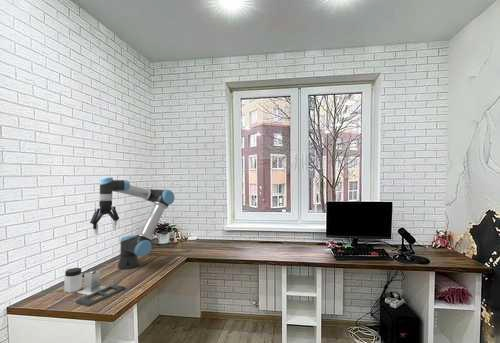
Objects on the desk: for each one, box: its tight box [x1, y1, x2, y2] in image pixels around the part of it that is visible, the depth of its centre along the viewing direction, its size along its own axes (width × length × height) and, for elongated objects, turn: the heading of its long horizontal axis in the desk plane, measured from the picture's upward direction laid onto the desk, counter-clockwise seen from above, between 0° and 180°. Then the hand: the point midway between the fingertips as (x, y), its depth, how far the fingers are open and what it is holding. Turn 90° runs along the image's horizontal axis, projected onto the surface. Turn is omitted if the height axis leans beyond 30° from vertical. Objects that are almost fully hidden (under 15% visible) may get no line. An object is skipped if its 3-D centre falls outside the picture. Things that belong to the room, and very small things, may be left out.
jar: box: [63, 267, 83, 294], centre depth 161 cm, size 9×8×12 cm
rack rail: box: [75, 284, 126, 307], centre depth 153 cm, size 24×10×1 cm, turn 158°
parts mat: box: [76, 285, 107, 296], centre depth 160 cm, size 12×10×1 cm
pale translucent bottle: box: [83, 269, 101, 292], centre depth 161 cm, size 6×6×11 cm
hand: (105, 232), depth 177 cm, fingers open, 13 cm apart
